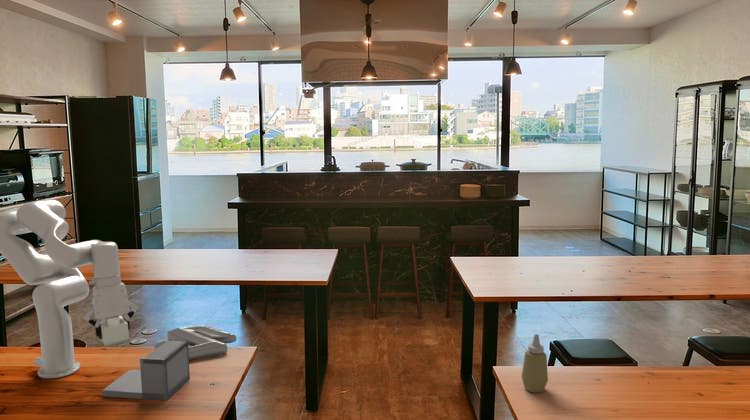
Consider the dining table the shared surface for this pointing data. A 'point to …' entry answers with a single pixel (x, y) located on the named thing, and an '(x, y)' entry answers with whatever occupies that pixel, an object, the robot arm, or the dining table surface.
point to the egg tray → (114, 331)
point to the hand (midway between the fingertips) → (113, 334)
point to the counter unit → (155, 374)
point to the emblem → (201, 340)
